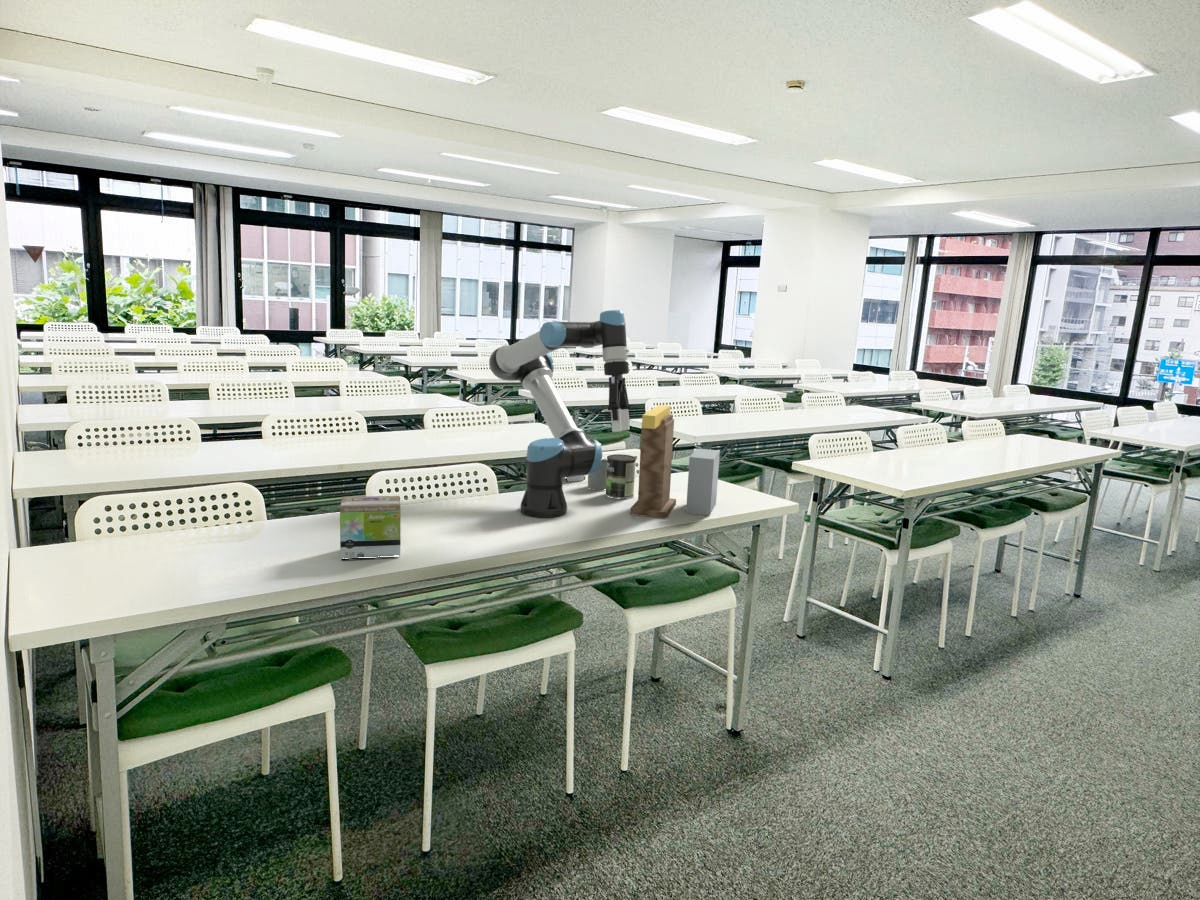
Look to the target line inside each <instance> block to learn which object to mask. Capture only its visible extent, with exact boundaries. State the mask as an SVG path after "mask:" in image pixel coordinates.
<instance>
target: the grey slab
mask: <svg viewBox="0 0 1200 900" xmlns="http://www.w3.org/2000/svg"><path fill="white" fill-rule="evenodd" d="M720 453H721V450H719V449H718V450H717V449H708V448H707V449H706V448H695V450H694V451H693V452H692V454H691V455H690V456H689V458H688V459H689V462H688V476H687V478H688V479H687V488H686V489H687V492H686V508H685V509H686V510H685V514H691V513H694V514H693V515H700V516H701V515H702V516H709V515H710V514H711V515H712V513H713V511H714V509H715V507H716V505H717V495H718V484H719V483H718V481H719V470H720V469H719V466H720V455H721V454H720ZM715 504H716V505H715ZM714 506H715V507H714ZM713 508H714V509H713ZM712 510H713V511H712ZM711 512H712V513H711ZM711 515H710V516H711Z"/></svg>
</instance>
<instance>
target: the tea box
mask: <svg viewBox="0 0 1200 900" xmlns="http://www.w3.org/2000/svg"><path fill="white" fill-rule="evenodd" d="M400 499H401V498H400V495H376V496H374V495H372V496H370V495H368V496H363V495H362V496H341V502H340V506H339V527H340V528H339V531H340V532H339V536H340V537H339V539H340V540H339V543H340V544H339V545H340V546H339V549H340V551H339V552H340V559H341V558H342V559H343V558H344V559H345V558H358V557H378V556H379V557H380V556H394V555H400V556H401V543H402V542H401V538H402V537H401V532H402V531H401V500H400Z"/></svg>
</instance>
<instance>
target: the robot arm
mask: <svg viewBox="0 0 1200 900" xmlns="http://www.w3.org/2000/svg"><path fill="white" fill-rule="evenodd" d="M626 329H627V328H626V319H625V313H624V311H622V310H620V309H619V310H618V309H610V310H604V311H602V312H600V314H599V320H596V321H592V322H591V321H589V322H587V321H585V322H584V321H583V322H582V321H579V322H578V321H557V320H554V321H553V320H552V321H547V322H544V323H543V324H542V326H541V327H540V329H539V331H537V332H534V333H533V334H531V335H529V336H527V337H524V338H522V339H521V340H518V341H517V342H514V343H513V344H511V345H510V344H506V345H504V344H503V345H501V346H500V347H497V348H495V350H493V352H492V353H491V354H490V357H489V361H488V364H489V365H488V366H489V368H490V371H491V372H492V374H493V375H494V376H495V377H497V378H498V379H500V380H502V381H507V382H509V381H511V382H512V381H513V382H514V381H519V382H520V384H521V386H522V387H523V389H524V390H526V391H529V392H530V394H531V396H532V398H533V400H534V402H535V403H536V405H537V407H538V410H539V411H540V414H541V415H542V417H543V419H544V421H545V423H546V425H547V426H548V427H547V428H548V429H549V431H550V432H551V434H552V436H553V437H549V438H539V439H536V440H533V441H531V442H530V443H529V444H528V445H527V448H526V449H527V451H526V456H525V457H526V458H525V459H526V485H525V486H526V488H525V491H524V494H523V497H522V499H521V503H520V509H519V510H520V513H522V514H524V515H526V516H529V517H533V518H555V517H560V516H564V515H565V514H567V511H568V504H567V501H566V496H565V493H564V490H563V479H564V478H565V477H573V476H580V475H584V476H588V474H592V473H595V472H596V471H597V470H598V469H599V467H600V465H601V462H602V459H603V449H602V446H601V444H600V442H599V441H598V440H597V439H593V438H589V436H587V433H586V432H585V430H583V429H581V428H579V427H578V426H577V425H576V423H575V421H574V418H573V417H572V415H571V413H570V412H569V410H568V407H567V406H566V404H565V402H564V401H563V398H562V396H561V395H560V393H559V391H558V389H557V387H556V386H555V384H554V381H553V380H552V378H553V375H554V369H555V368H554V359H553V357H552V355H551V353H552V352H554V351H557V350H559V349H562V348H564V347H565V348H567V347H569V348H570V347H571V348H572V347H575V348H577V347H580V348H583V349H589V348H590V349H591V348H594V347H598V346H602V347H601V348H602V350H601V351H602V361H603V362H605V363H604V364H603V370H604V371H603V372H604V376H608V385H609V386H608V406H607V410H608V411H610V421H611V431H612V433H618V432H622V431H629V430H631V429H630V415H629V410H630V409H631V405H630V404H629V403H630V402H629V398H628V391H627V386H626V378H625V377H623V375H628V374H629V372H630V368H629V361H627V360H629V359H628V353H629V352H630V349H628V348H627V347H628V344H627V343H628V342H627V331H626Z"/></svg>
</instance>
